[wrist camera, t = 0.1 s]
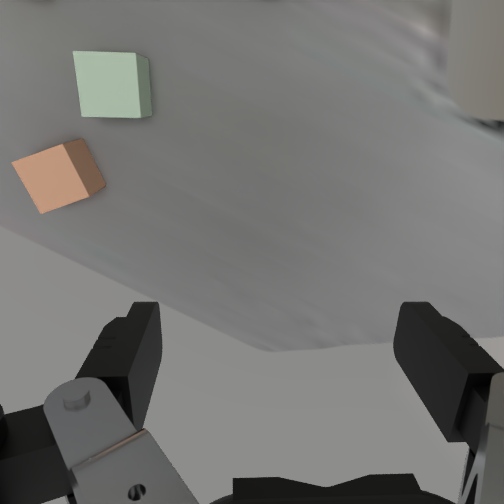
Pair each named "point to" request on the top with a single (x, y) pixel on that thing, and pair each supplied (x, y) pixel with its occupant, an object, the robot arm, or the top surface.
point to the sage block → (113, 84)
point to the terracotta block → (60, 175)
